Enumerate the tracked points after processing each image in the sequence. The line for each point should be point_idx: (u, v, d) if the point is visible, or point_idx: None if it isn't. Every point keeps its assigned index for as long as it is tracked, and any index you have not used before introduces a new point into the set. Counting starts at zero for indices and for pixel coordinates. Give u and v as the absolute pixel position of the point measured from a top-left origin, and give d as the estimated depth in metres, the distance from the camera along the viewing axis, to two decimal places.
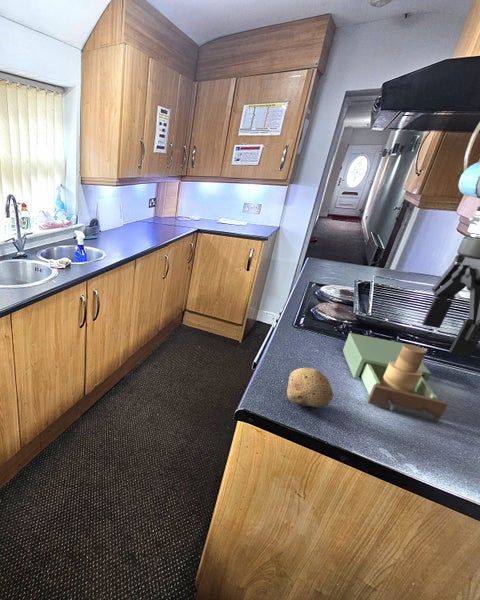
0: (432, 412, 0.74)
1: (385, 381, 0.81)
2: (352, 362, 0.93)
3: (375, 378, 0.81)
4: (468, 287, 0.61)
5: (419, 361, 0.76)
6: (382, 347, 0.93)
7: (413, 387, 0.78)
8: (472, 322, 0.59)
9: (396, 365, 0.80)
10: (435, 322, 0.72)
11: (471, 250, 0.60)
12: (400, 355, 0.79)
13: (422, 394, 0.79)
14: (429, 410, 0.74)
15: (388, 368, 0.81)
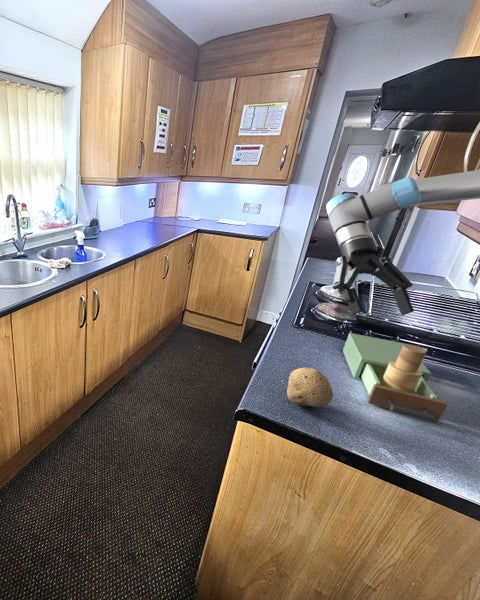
0: (432, 412, 0.74)
1: (385, 381, 0.81)
2: (352, 362, 0.93)
3: (375, 378, 0.81)
4: None
5: (419, 361, 0.76)
6: (382, 347, 0.93)
7: (413, 387, 0.78)
8: (340, 289, 0.89)
9: (396, 365, 0.80)
10: (405, 308, 0.86)
11: None
12: (400, 355, 0.79)
13: (422, 394, 0.79)
14: (429, 410, 0.74)
15: (388, 368, 0.81)
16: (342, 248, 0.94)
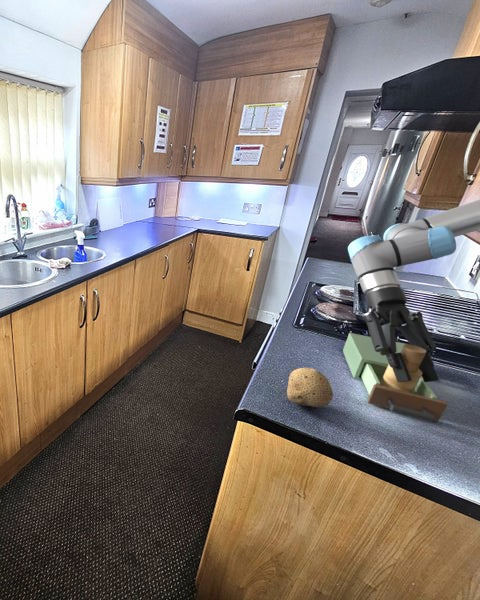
0: (432, 412, 0.74)
1: (385, 381, 0.81)
2: (352, 362, 0.93)
3: (375, 378, 0.81)
4: None
5: (419, 361, 0.76)
6: None
7: (413, 387, 0.78)
8: (383, 353, 0.80)
9: None
10: (429, 376, 0.77)
11: None
12: None
13: (422, 394, 0.79)
14: (429, 410, 0.74)
15: (388, 368, 0.81)
16: (367, 296, 0.86)
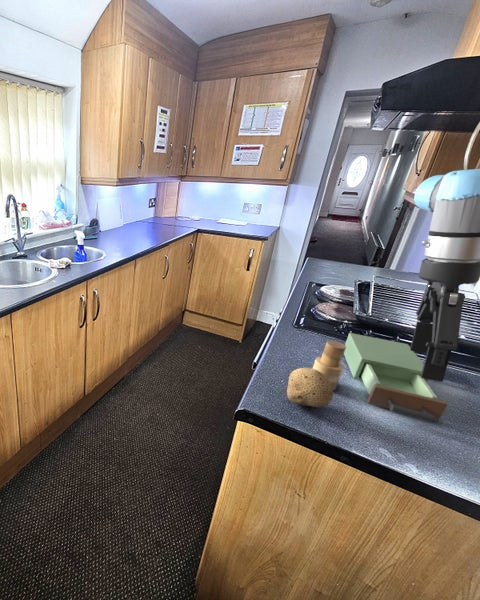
0: (432, 412, 0.74)
1: None
2: (352, 362, 0.93)
3: (375, 378, 0.81)
4: (430, 309, 0.60)
5: (339, 356, 0.82)
6: (382, 347, 0.93)
7: (335, 381, 0.83)
8: (433, 345, 0.58)
9: (321, 360, 0.85)
10: (422, 347, 0.70)
11: (427, 273, 0.60)
12: (324, 351, 0.84)
13: (422, 394, 0.79)
14: (429, 410, 0.74)
15: (314, 363, 0.86)
16: (447, 269, 0.58)
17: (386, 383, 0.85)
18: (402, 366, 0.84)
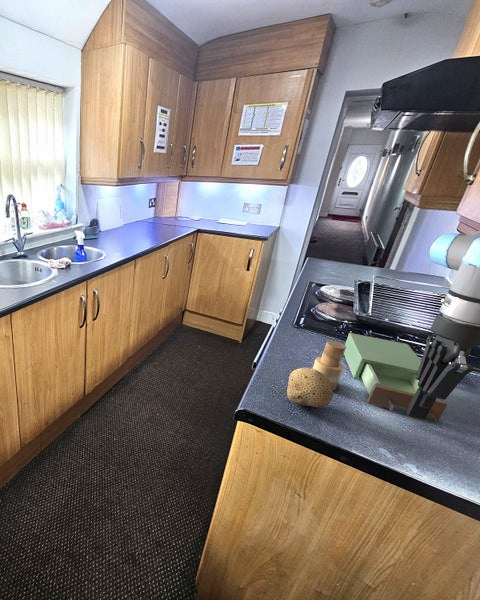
0: (432, 412, 0.74)
1: None
2: (352, 362, 0.93)
3: (375, 378, 0.81)
4: (434, 363, 0.66)
5: (339, 356, 0.82)
6: (382, 347, 0.93)
7: (335, 381, 0.83)
8: (423, 393, 0.68)
9: (321, 360, 0.85)
10: None
11: (443, 331, 0.63)
12: (324, 351, 0.84)
13: None
14: None
15: (314, 363, 0.86)
16: (465, 331, 0.60)
17: (386, 383, 0.85)
18: (402, 366, 0.84)
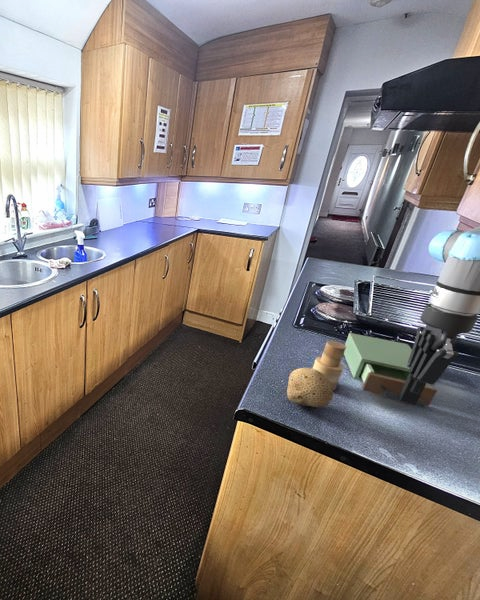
0: (422, 398, 0.78)
1: None
2: (352, 362, 0.93)
3: (369, 367, 0.86)
4: (423, 350, 0.70)
5: (339, 356, 0.82)
6: (382, 347, 0.93)
7: (335, 381, 0.83)
8: (414, 379, 0.73)
9: (321, 360, 0.85)
10: None
11: (431, 320, 0.68)
12: (324, 351, 0.84)
13: None
14: (420, 396, 0.79)
15: (314, 363, 0.86)
16: (451, 319, 0.65)
17: (380, 372, 0.90)
18: (402, 366, 0.84)
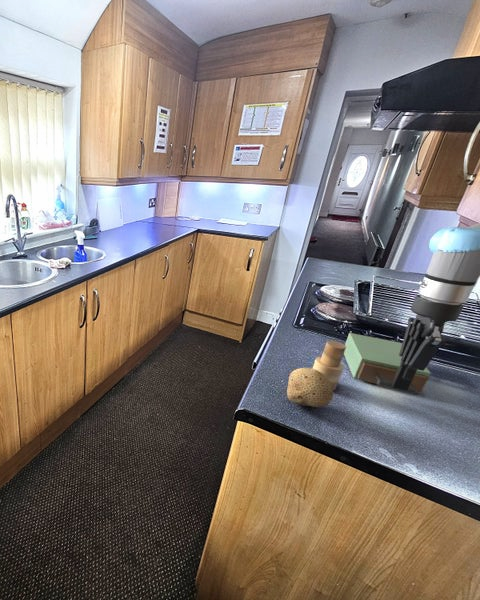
0: (414, 386, 0.83)
1: None
2: (352, 362, 0.93)
3: None
4: (414, 338, 0.75)
5: (339, 356, 0.82)
6: (382, 347, 0.93)
7: (335, 381, 0.83)
8: (405, 366, 0.77)
9: (321, 360, 0.85)
10: (402, 384, 0.80)
11: (420, 309, 0.72)
12: (324, 351, 0.84)
13: None
14: (412, 384, 0.83)
15: (314, 363, 0.86)
16: (439, 308, 0.70)
17: None
18: None
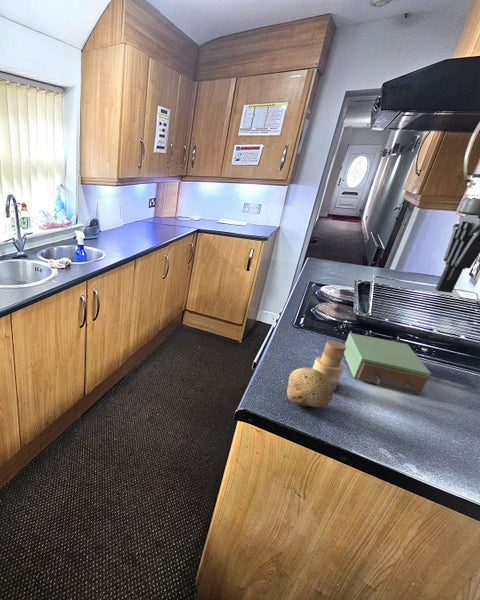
0: (414, 386, 0.83)
1: None
2: (352, 362, 0.93)
3: None
4: (461, 239, 0.80)
5: (339, 356, 0.82)
6: (382, 347, 0.93)
7: (335, 381, 0.83)
8: (451, 267, 0.83)
9: (321, 360, 0.85)
10: None
11: (469, 208, 0.77)
12: (324, 351, 0.84)
13: (406, 371, 0.88)
14: (412, 384, 0.83)
15: (314, 363, 0.86)
16: None
17: None
18: (402, 366, 0.84)
